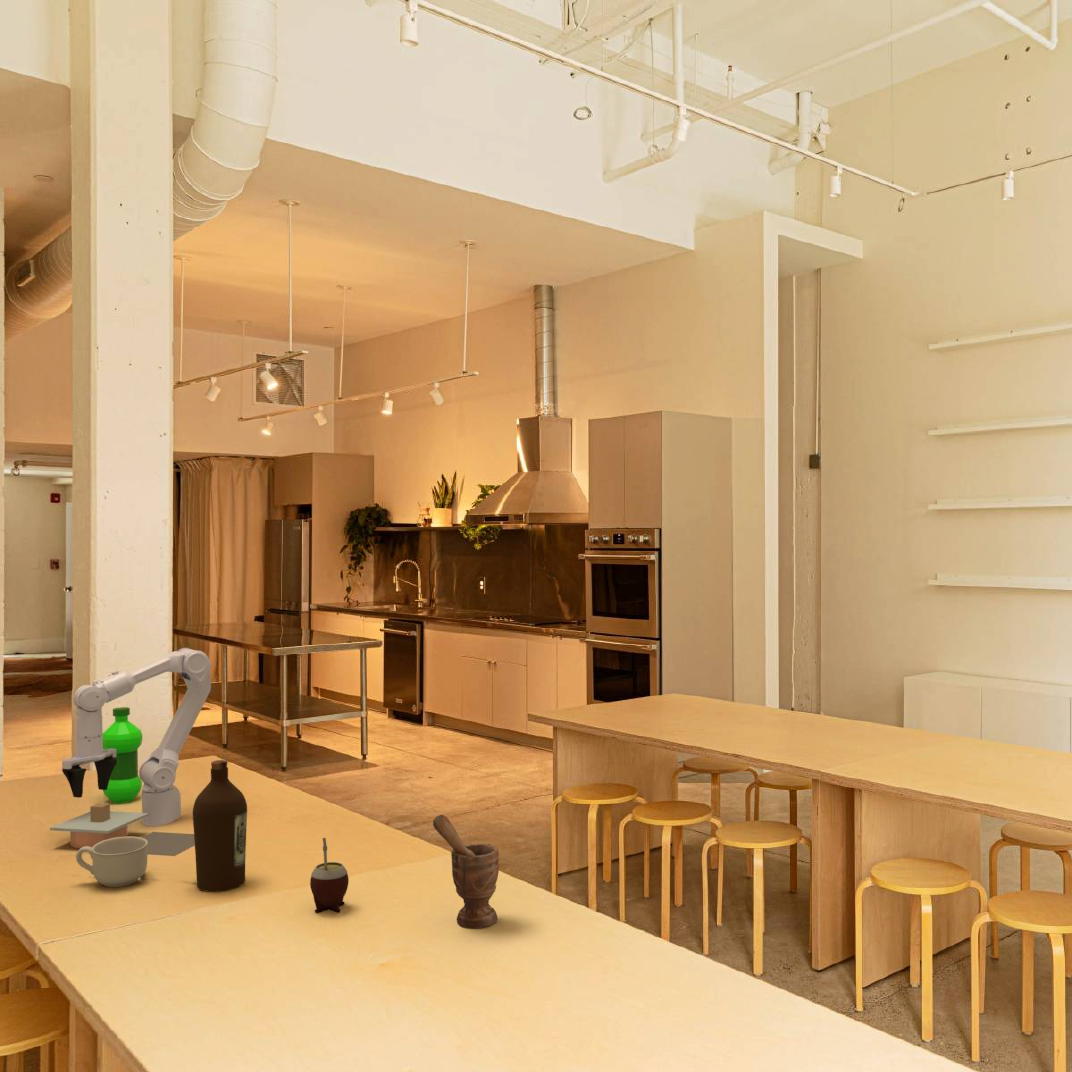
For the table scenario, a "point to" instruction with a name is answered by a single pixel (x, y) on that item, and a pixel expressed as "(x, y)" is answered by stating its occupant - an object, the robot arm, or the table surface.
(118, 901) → the table surface
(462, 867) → the mortar and pestle
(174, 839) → the mat
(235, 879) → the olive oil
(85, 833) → the bowl
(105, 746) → the plastic bottle
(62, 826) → the lid
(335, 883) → the mate gourd
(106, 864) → the teacup
